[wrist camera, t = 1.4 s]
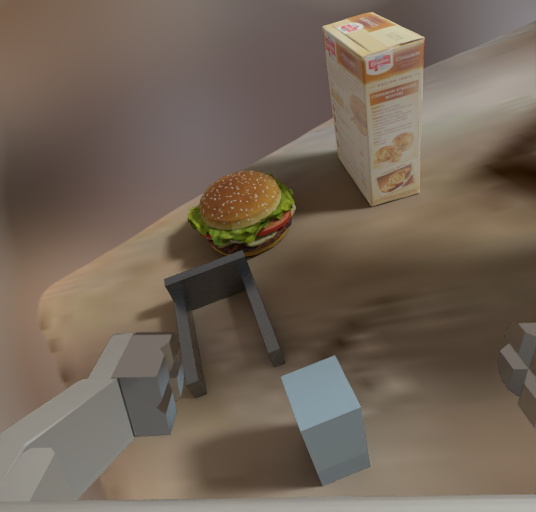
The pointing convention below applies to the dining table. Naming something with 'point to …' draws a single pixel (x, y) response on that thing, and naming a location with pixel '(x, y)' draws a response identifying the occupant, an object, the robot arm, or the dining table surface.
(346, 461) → the pale blue rectangular prism
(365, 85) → the coffeecake box
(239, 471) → the dining table surface
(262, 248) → the food
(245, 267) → the rail channel
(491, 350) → the dining table surface
